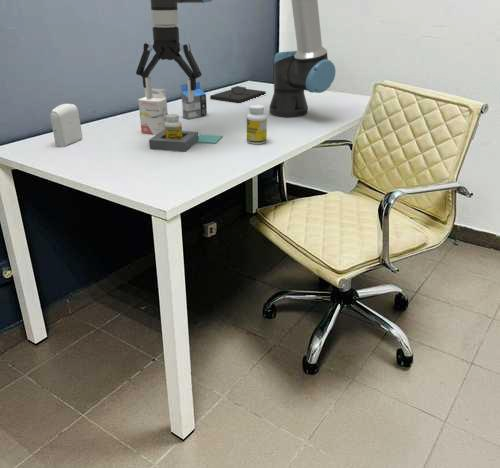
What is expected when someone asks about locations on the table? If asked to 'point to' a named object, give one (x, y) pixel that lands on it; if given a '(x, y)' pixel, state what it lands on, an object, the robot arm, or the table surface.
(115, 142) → the table surface
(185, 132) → the socket frame
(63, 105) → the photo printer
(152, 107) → the ink cartridge box
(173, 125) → the supplement bottle
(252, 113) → the pill bottle
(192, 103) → the label tape cartridge
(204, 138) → the coaster
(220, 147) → the table surface
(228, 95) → the black ridged flat slab
